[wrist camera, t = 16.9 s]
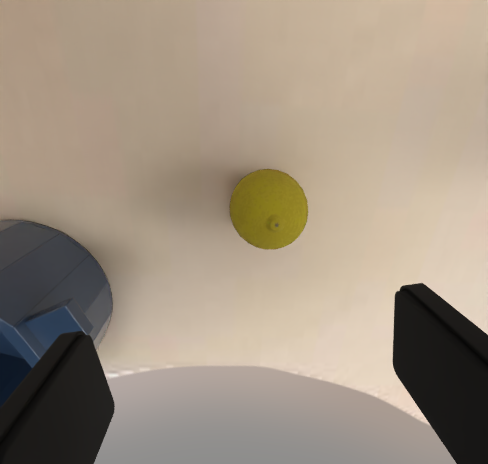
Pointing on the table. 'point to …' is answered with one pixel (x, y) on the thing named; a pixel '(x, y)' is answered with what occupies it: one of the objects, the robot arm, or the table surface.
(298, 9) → the table surface
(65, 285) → the pot
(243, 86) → the table surface
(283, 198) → the lemon
